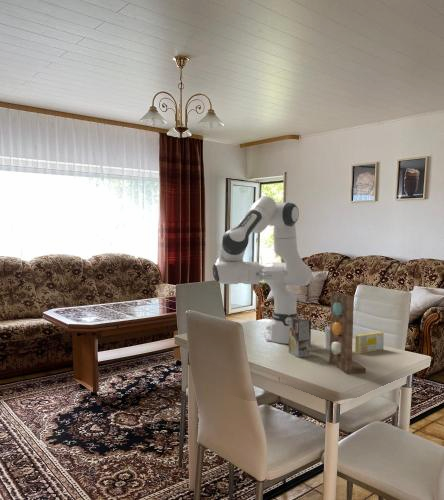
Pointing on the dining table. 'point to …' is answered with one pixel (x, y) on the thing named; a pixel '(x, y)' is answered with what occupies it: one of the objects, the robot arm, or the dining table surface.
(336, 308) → the teal button
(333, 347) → the cream button
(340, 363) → the button panel
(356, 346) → the candy box
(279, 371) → the dining table surface
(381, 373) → the dining table surface
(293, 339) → the coffee box
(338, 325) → the orange button
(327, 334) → the white cup
